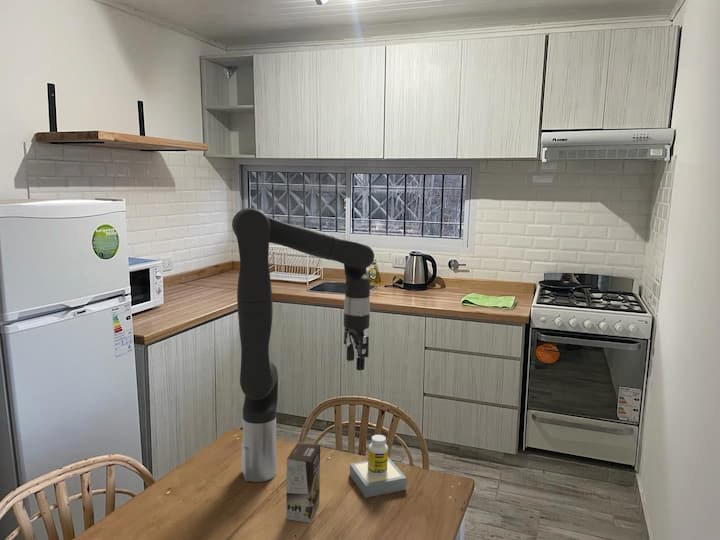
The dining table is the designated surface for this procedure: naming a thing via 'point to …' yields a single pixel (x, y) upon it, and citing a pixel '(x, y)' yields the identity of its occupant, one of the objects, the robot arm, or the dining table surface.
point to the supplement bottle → (378, 455)
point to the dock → (377, 479)
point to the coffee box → (303, 482)
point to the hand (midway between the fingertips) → (355, 365)
